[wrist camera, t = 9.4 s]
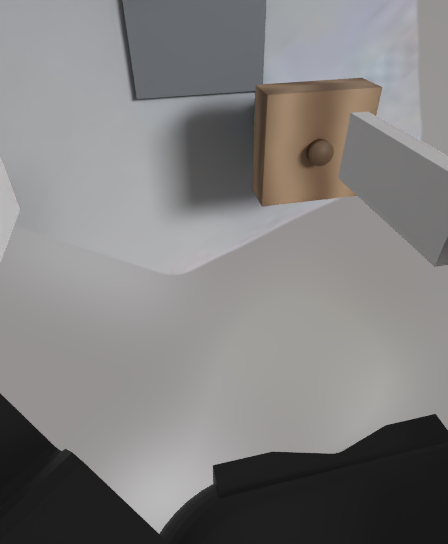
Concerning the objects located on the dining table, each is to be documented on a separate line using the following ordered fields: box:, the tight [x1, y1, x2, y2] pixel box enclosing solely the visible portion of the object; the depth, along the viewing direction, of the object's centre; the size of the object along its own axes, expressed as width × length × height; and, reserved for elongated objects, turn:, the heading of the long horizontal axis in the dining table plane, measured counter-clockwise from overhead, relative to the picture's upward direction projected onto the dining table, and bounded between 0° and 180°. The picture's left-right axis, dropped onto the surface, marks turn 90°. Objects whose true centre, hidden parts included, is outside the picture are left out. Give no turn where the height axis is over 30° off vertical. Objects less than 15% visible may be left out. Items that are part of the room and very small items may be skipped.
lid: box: [252, 78, 382, 206], centre depth 40 cm, size 11×11×5 cm
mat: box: [122, 0, 266, 99], centre depth 39 cm, size 14×13×1 cm
